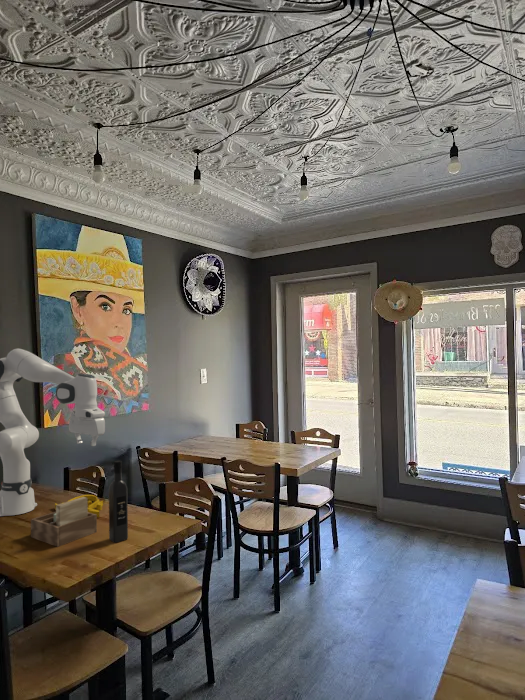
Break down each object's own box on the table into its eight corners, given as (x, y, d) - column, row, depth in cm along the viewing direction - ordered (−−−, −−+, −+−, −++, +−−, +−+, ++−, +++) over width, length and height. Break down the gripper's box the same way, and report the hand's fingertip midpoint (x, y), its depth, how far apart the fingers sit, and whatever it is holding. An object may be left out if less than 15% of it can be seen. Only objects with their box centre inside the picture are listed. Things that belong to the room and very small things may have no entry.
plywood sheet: (56, 541, 174) (56, 505, 175) (83, 531, 184) (83, 496, 185) (60, 543, 173) (59, 506, 173) (87, 532, 183) (87, 497, 183)
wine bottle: (128, 539, 175) (128, 461, 176) (114, 543, 172) (114, 463, 172) (122, 535, 180) (121, 459, 180) (108, 539, 176) (107, 461, 176)
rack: (30, 537, 179) (30, 519, 180) (69, 523, 194) (69, 507, 194) (57, 546, 169) (57, 527, 170) (96, 531, 184) (96, 514, 184)
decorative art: (89, 493, 229) (122, 505, 210) (89, 499, 229) (122, 511, 210) (47, 504, 213) (79, 517, 194) (47, 510, 213) (79, 524, 194)
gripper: (65, 411, 196) (65, 443, 196) (94, 414, 185) (94, 448, 185) (78, 410, 202) (78, 441, 201) (107, 412, 190) (107, 445, 190)
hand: (86, 444), depth 193 cm, fingers open, 8 cm apart
